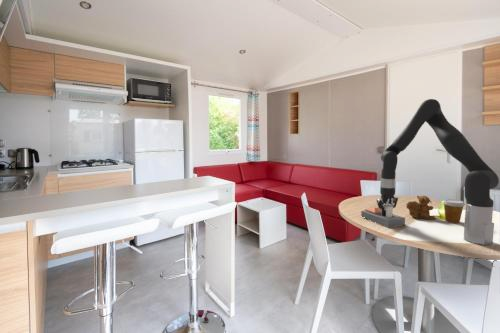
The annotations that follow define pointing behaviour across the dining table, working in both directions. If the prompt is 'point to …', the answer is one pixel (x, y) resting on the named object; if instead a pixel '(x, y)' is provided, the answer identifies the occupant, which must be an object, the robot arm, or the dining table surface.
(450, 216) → the disposable coffee cup
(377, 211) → the shutter
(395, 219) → the socket block
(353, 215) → the dining table surface
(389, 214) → the plug
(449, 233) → the dining table surface
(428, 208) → the stuffed squirrel
